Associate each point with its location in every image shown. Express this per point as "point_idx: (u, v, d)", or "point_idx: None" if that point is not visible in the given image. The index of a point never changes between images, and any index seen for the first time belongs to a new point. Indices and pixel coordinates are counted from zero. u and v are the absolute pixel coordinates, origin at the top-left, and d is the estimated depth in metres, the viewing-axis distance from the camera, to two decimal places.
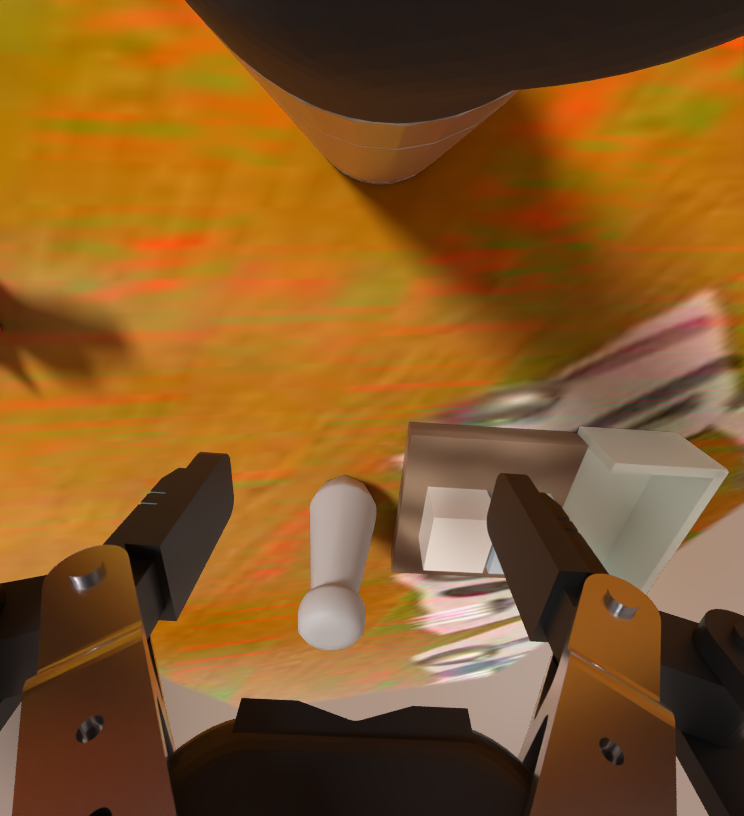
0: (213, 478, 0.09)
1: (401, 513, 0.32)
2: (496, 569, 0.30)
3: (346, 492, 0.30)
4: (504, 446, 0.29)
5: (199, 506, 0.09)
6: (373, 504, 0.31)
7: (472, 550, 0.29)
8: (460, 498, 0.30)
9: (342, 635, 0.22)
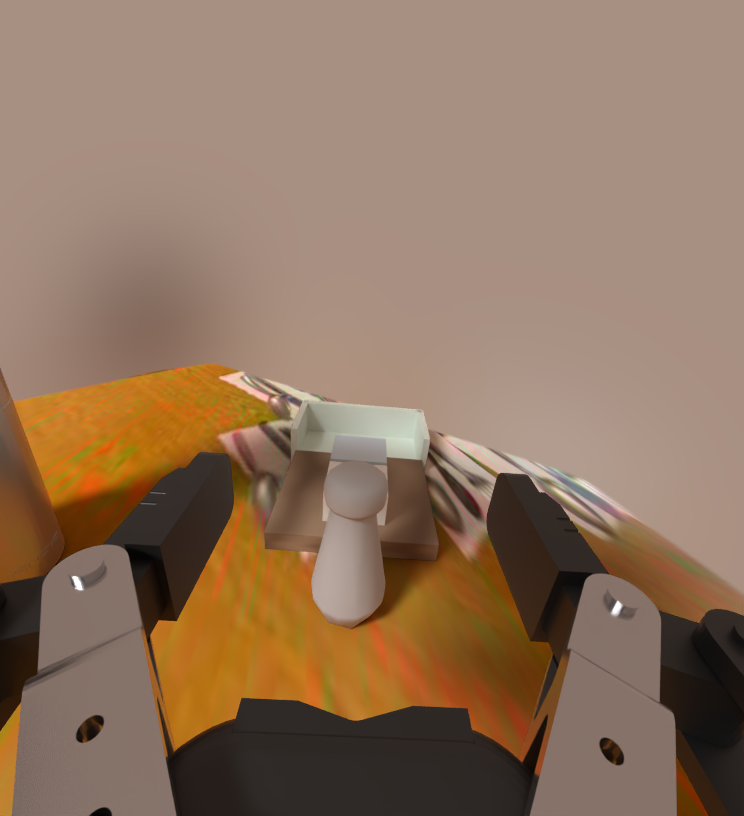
0: (213, 478, 0.09)
1: None
2: (381, 459, 0.39)
3: None
4: (288, 482, 0.40)
5: (199, 506, 0.09)
6: None
7: None
8: None
9: (353, 465, 0.25)
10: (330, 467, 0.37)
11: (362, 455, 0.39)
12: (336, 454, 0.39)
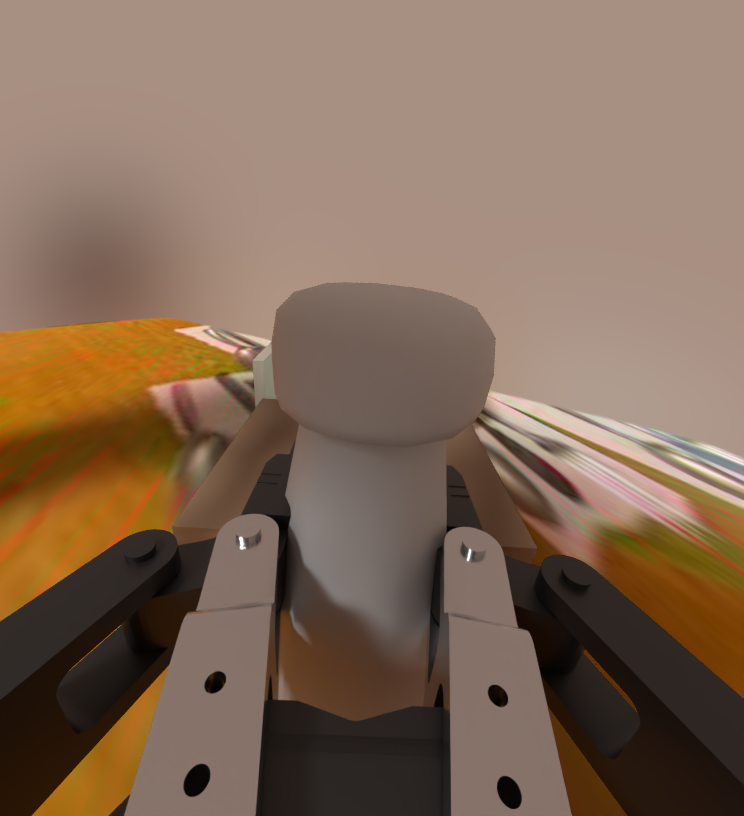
0: None
1: None
2: None
3: None
4: (241, 440, 0.22)
5: None
6: None
7: None
8: None
9: (371, 283, 0.07)
10: None
11: None
12: None
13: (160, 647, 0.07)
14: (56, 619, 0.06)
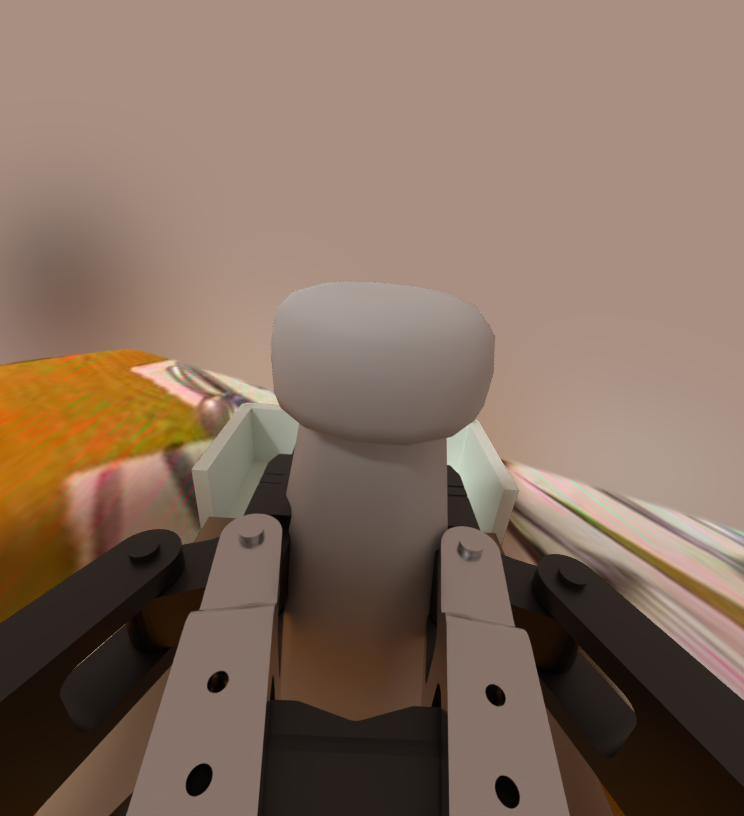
0: None
1: None
2: None
3: None
4: None
5: None
6: None
7: None
8: None
9: (370, 282, 0.07)
10: None
11: None
12: None
13: (163, 647, 0.07)
14: (62, 618, 0.06)
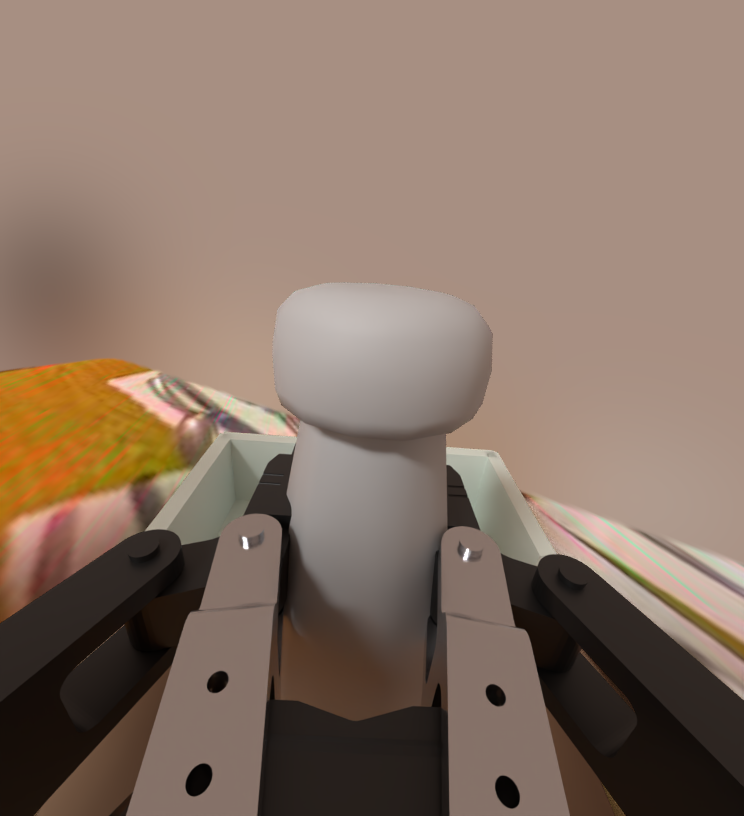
0: None
1: None
2: None
3: None
4: (69, 793, 0.10)
5: None
6: None
7: None
8: None
9: (370, 283, 0.08)
10: None
11: None
12: None
13: (163, 647, 0.07)
14: (62, 617, 0.06)
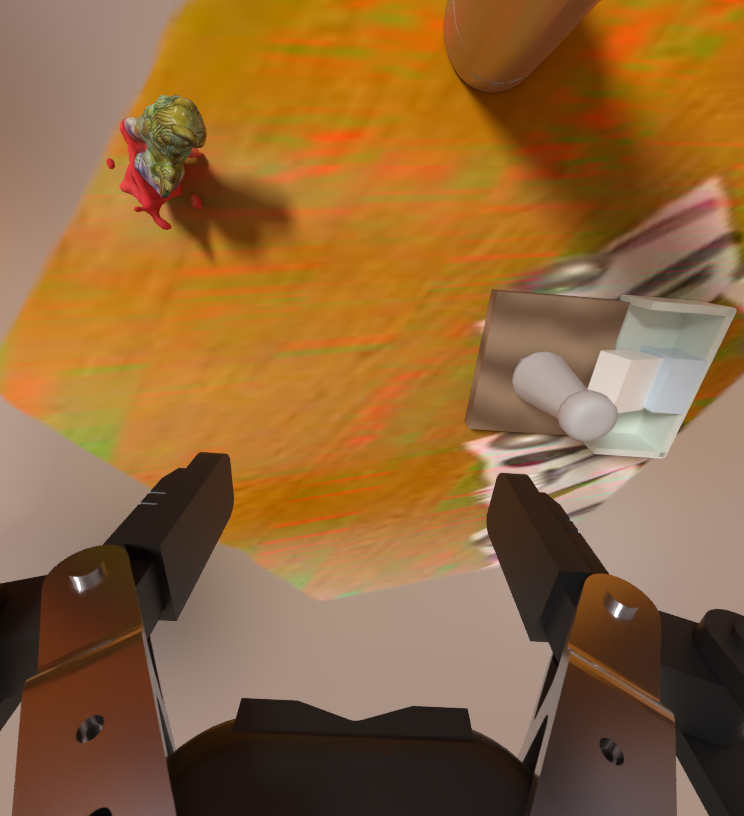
0: (213, 478, 0.09)
1: (482, 367, 0.41)
2: None
3: (553, 355, 0.37)
4: (567, 302, 0.38)
5: (199, 506, 0.09)
6: None
7: (643, 388, 0.39)
8: (627, 352, 0.39)
9: (606, 420, 0.29)
10: (656, 360, 0.38)
11: None
12: None
13: (0, 691, 0.06)
14: None
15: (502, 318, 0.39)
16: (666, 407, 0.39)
